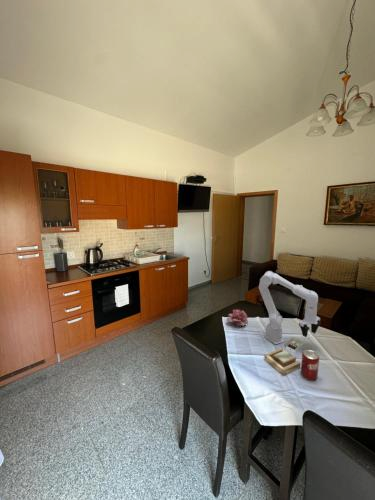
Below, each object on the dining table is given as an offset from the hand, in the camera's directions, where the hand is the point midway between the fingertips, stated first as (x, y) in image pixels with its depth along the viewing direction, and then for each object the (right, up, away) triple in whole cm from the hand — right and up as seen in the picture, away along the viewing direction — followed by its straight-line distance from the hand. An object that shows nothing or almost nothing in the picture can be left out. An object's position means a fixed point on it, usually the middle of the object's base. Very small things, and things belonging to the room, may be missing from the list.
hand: (309, 334), depth 124 cm
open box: (-18, -12, -9) cm, 24 cm away
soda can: (-10, -14, -18) cm, 25 cm away
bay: (-19, -12, -9) cm, 24 cm away
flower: (-34, -5, +32) cm, 47 cm away
